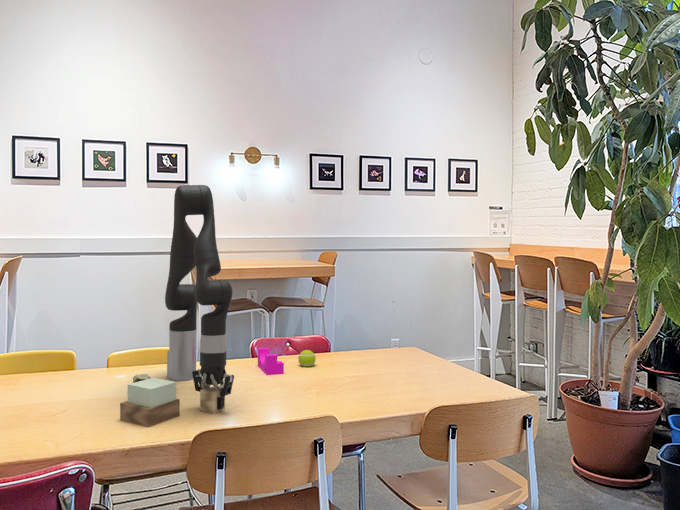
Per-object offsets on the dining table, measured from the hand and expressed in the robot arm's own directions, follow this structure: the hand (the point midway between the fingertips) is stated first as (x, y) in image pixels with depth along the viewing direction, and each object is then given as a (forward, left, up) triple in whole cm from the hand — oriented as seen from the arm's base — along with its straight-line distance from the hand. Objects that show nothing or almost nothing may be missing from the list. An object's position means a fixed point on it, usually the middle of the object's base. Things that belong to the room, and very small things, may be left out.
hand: (212, 407), depth 167 cm
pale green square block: (-9, -14, +4) cm, 17 cm away
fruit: (-26, -1, -1) cm, 26 cm away
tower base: (-10, -14, -1) cm, 17 cm away
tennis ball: (-5, +61, -1) cm, 61 cm away
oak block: (0, 0, -1) cm, 1 cm away
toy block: (-13, +49, -1) cm, 51 cm away
